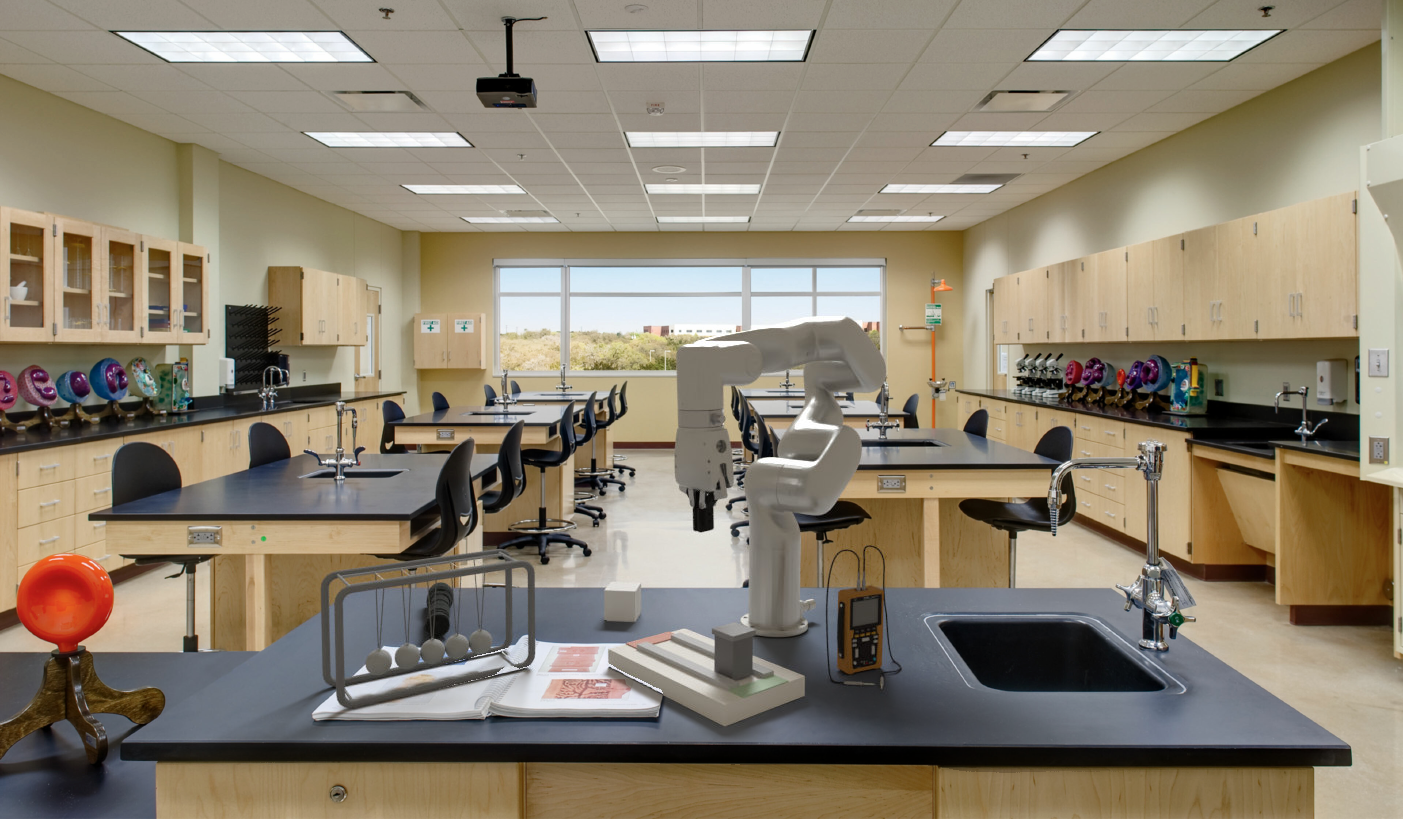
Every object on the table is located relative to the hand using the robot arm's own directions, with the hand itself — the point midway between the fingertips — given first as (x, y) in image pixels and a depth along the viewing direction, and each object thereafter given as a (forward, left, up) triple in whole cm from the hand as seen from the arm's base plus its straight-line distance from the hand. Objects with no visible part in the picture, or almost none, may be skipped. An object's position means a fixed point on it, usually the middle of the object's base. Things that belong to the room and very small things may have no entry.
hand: (703, 530), depth 137 cm
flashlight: (+26, -47, -22) cm, 58 cm away
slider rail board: (+6, +7, -22) cm, 24 cm away
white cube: (-3, -27, -22) cm, 35 cm away
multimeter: (-16, +23, -22) cm, 36 cm away
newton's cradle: (+38, -21, -22) cm, 48 cm away
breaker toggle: (+6, +14, -18) cm, 24 cm away
